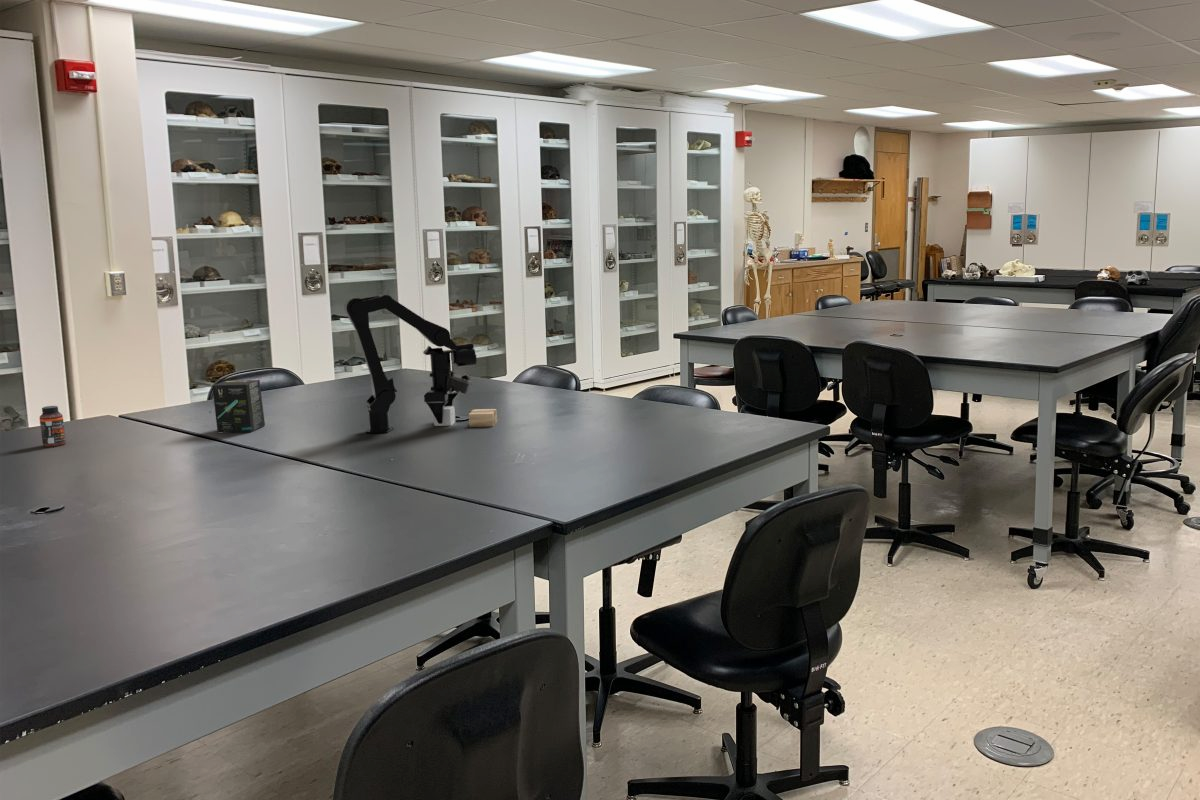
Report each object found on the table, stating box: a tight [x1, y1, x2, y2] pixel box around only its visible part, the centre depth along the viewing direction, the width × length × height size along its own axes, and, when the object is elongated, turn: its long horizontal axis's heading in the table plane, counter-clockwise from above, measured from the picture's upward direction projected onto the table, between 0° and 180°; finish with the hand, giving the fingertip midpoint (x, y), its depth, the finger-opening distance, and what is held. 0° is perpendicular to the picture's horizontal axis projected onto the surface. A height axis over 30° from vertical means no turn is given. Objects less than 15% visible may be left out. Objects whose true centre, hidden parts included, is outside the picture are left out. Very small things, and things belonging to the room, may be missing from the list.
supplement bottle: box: [39, 405, 67, 448], centre depth 280 cm, size 6×6×11 cm
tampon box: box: [212, 379, 266, 433], centre depth 291 cm, size 11×9×15 cm
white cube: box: [433, 405, 456, 427], centre depth 289 cm, size 5×5×5 cm
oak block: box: [468, 408, 498, 428], centre depth 286 cm, size 7×7×4 cm
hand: (444, 420), depth 289 cm, fingers open, 9 cm apart
